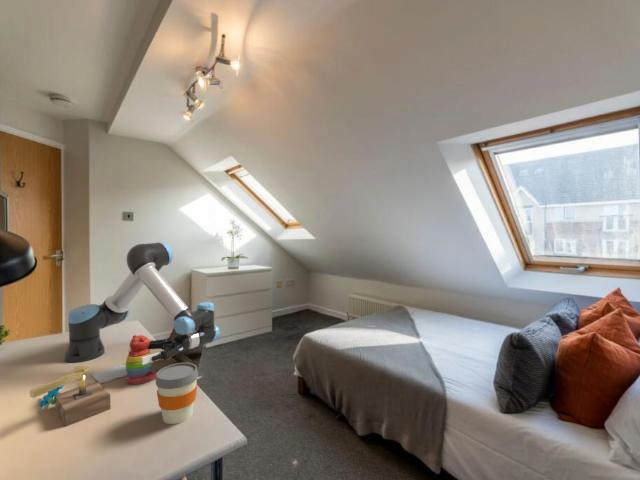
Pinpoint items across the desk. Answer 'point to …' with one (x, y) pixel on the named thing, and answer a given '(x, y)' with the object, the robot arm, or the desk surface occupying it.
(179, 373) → the reusable coffee cup
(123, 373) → the mat
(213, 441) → the desk surface
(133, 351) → the stacking bear
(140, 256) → the robot arm
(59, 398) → the lock block
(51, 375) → the desk surface
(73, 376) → the gold piece
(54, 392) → the gear
